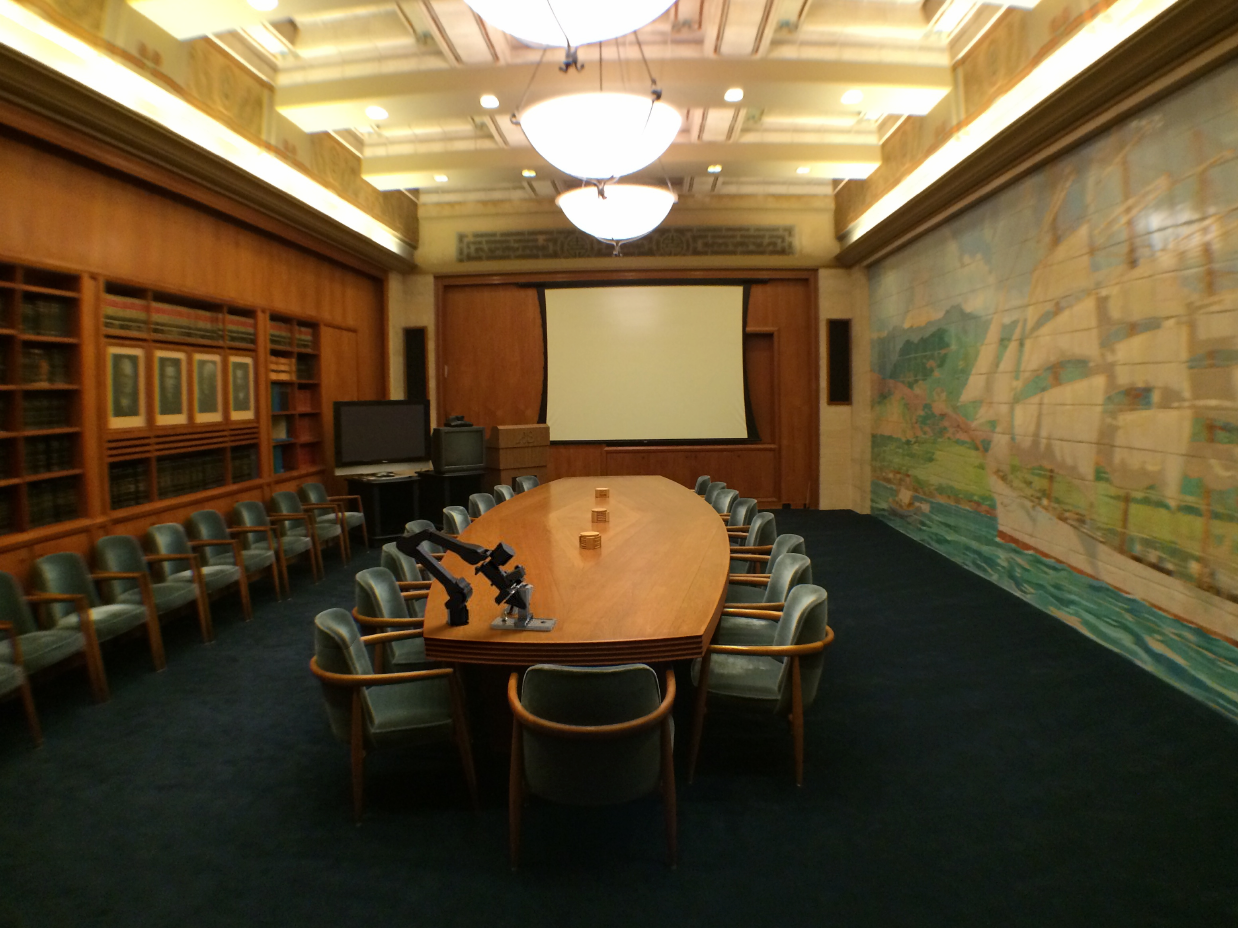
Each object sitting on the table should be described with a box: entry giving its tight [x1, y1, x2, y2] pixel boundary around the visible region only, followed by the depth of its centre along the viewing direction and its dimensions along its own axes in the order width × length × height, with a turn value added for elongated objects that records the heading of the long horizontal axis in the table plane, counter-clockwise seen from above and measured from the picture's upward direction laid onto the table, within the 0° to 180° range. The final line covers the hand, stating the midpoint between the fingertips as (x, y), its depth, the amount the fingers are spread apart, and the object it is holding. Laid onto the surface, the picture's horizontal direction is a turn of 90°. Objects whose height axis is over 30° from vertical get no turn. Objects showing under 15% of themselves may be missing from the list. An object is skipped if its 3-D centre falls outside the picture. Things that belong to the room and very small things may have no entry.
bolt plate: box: [490, 611, 557, 632], centre depth 239 cm, size 21×8×4 cm, turn 82°
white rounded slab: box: [502, 582, 534, 616], centre depth 259 cm, size 17×5×10 cm, turn 168°
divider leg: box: [514, 588, 534, 628], centre depth 239 cm, size 4×10×12 cm, turn 172°
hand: (527, 607), depth 238 cm, fingers open, 4 cm apart
